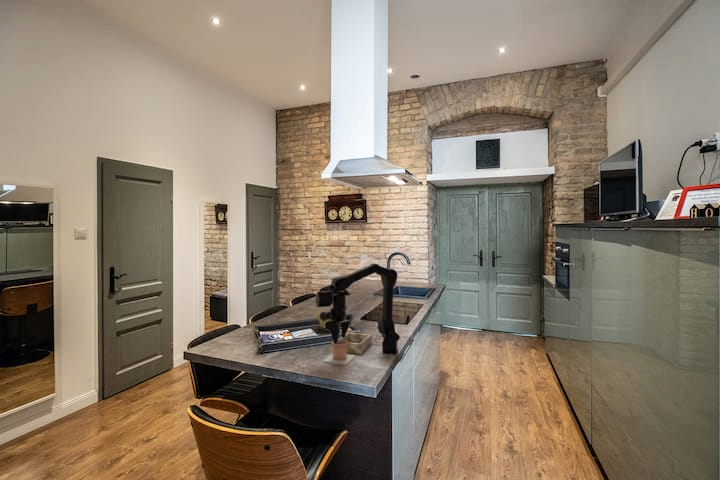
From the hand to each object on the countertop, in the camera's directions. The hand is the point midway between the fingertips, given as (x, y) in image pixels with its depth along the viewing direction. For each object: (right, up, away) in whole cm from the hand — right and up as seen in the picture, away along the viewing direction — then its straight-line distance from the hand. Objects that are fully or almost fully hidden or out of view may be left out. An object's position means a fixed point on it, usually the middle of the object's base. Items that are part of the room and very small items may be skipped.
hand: (339, 340), depth 152 cm
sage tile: (0, -9, 0) cm, 9 cm away
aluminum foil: (-38, -10, +23) cm, 46 cm away
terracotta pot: (0, -8, 0) cm, 8 cm away
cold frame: (+6, -9, +17) cm, 20 cm away
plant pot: (-10, -9, +48) cm, 50 cm away
